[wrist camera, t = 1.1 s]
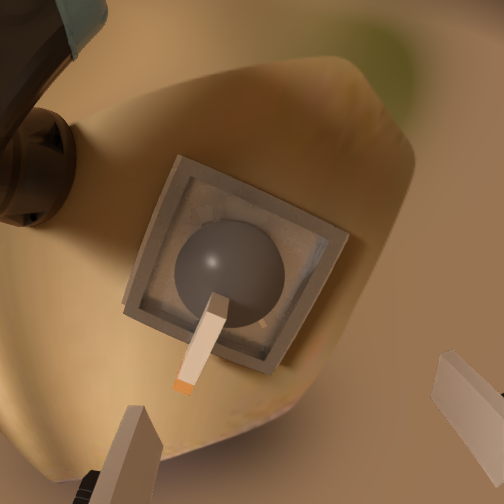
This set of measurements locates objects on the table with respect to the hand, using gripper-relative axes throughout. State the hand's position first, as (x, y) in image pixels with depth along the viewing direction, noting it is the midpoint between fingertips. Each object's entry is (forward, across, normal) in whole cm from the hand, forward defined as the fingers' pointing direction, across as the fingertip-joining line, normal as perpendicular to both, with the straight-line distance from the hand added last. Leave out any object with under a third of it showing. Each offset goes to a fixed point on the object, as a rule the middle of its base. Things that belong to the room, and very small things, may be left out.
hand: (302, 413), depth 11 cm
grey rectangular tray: (+23, -4, 0) cm, 23 cm away
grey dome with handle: (+22, -5, -2) cm, 23 cm away
